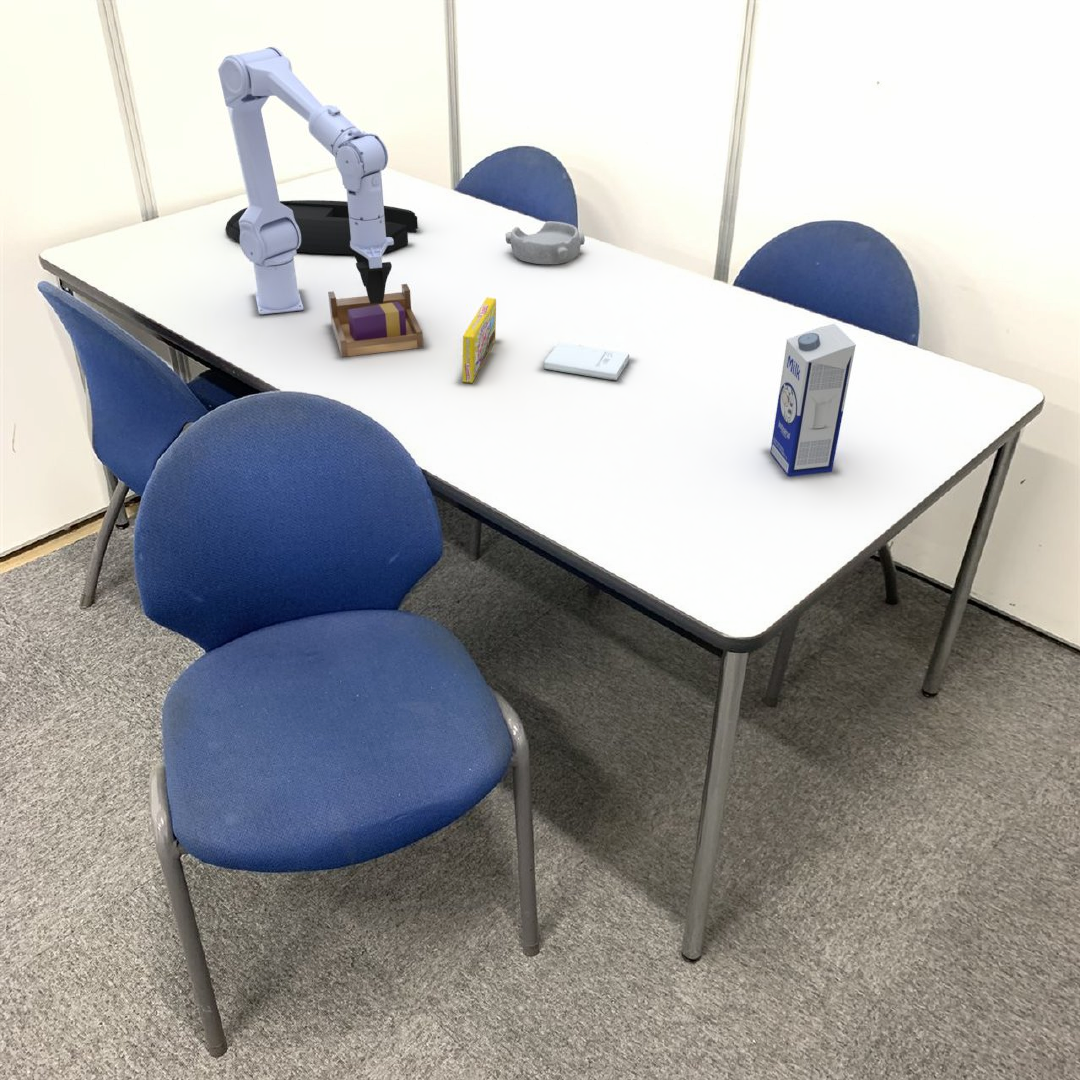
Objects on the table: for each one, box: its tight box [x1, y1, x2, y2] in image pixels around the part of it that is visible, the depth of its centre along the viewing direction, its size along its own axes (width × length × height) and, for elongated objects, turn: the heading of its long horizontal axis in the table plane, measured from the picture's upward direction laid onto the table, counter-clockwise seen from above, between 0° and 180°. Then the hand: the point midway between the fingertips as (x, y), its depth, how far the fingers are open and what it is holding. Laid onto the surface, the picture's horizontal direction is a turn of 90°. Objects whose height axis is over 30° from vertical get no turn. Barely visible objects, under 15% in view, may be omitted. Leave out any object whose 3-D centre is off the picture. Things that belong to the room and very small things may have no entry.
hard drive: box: [543, 342, 630, 381], centre depth 184 cm, size 2×8×12 cm
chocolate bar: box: [348, 302, 407, 341], centre depth 189 cm, size 4×9×4 cm, turn 113°
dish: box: [505, 220, 586, 265], centre depth 224 cm, size 14×14×5 cm
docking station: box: [224, 199, 419, 255], centre depth 233 cm, size 25×41×5 cm, turn 82°
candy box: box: [462, 297, 497, 384], centre depth 183 cm, size 16×2×8 cm, turn 169°
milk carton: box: [770, 323, 857, 477], centre depth 153 cm, size 7×7×20 cm
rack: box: [327, 283, 424, 358], centre depth 191 cm, size 13×14×6 cm
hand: (373, 294), depth 186 cm, fingers open, 7 cm apart
